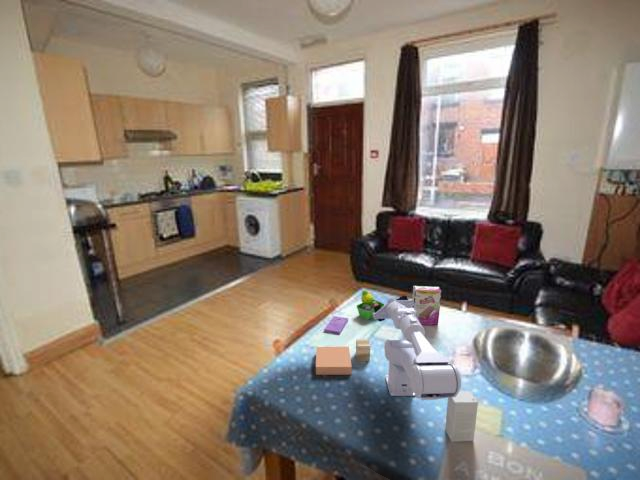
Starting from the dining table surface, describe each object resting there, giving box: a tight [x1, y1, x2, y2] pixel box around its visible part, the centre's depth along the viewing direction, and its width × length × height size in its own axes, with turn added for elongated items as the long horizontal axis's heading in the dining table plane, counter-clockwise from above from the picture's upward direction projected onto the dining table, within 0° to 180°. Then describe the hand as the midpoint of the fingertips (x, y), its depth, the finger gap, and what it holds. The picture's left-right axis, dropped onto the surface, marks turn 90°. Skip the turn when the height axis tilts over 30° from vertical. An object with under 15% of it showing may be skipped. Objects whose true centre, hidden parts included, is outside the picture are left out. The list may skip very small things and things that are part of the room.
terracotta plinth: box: [315, 346, 353, 376], centre depth 117 cm, size 12×12×3 cm
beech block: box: [355, 338, 371, 362], centre depth 121 cm, size 4×4×6 cm
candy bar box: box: [411, 285, 442, 327], centre depth 144 cm, size 11×5×16 cm, turn 84°
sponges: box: [323, 315, 349, 335], centre depth 144 cm, size 7×13×2 cm, turn 159°
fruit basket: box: [356, 289, 385, 320], centre depth 152 cm, size 11×9×11 cm
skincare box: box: [444, 390, 479, 443], centre depth 86 cm, size 6×4×12 cm
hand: (387, 305), depth 122 cm, fingers open, 7 cm apart
